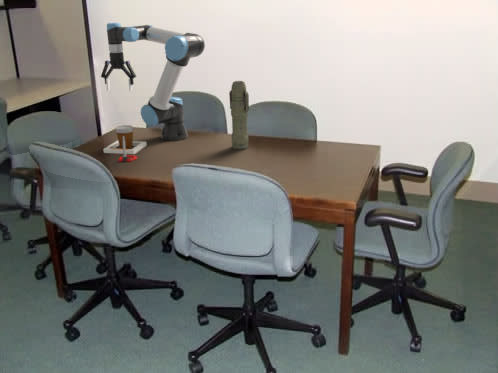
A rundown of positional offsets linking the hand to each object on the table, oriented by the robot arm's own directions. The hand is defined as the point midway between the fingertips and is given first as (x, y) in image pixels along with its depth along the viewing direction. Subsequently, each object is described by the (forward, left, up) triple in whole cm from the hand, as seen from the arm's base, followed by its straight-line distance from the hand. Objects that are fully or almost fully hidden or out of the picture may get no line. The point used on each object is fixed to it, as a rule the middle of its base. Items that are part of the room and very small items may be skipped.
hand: (119, 90), depth 313 cm
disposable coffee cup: (-12, +25, -27) cm, 39 cm away
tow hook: (-21, +42, -27) cm, 54 cm away
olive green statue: (-72, +12, -27) cm, 78 cm away
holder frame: (-12, +25, -27) cm, 38 cm away
